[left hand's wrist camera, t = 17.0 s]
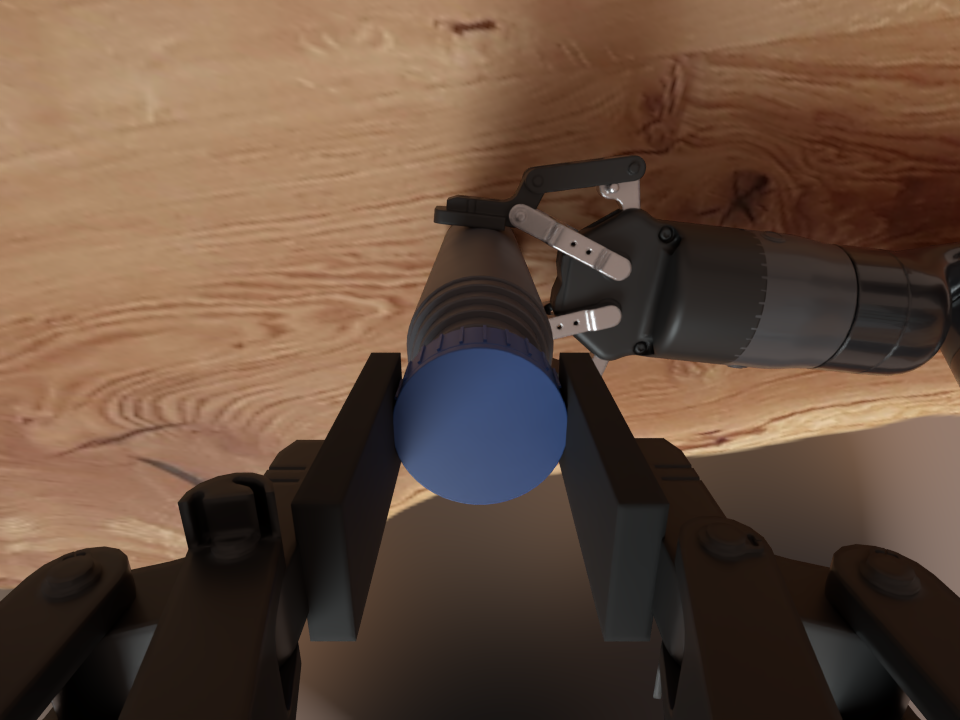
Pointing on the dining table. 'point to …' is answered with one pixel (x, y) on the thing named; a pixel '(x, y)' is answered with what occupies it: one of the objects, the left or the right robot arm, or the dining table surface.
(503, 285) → the bottle
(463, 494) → the cap
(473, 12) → the dining table surface
